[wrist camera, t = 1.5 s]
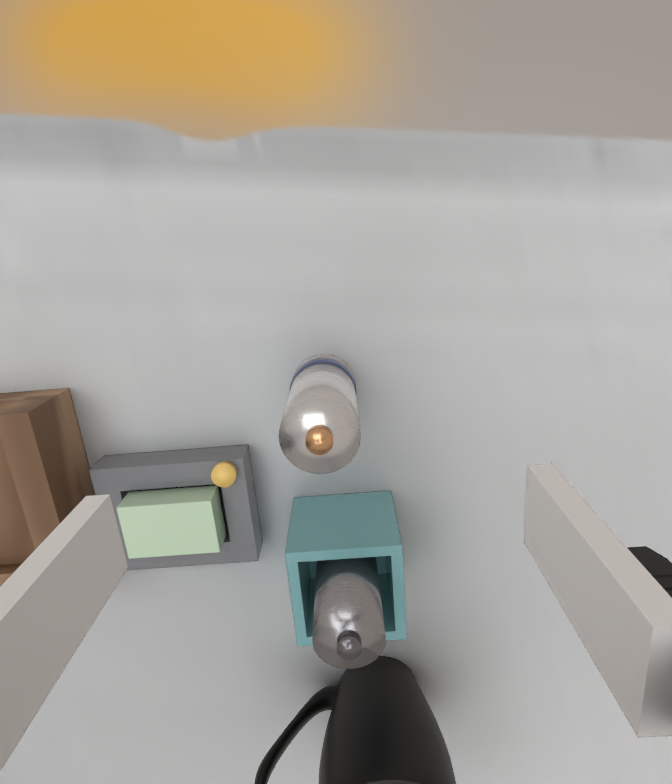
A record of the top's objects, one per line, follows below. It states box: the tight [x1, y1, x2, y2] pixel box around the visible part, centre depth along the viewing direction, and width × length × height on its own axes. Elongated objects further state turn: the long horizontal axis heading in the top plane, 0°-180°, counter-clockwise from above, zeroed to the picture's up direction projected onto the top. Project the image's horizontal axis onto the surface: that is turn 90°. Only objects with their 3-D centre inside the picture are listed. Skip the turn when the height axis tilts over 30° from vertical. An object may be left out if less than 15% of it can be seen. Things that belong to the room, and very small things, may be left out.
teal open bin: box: [285, 491, 407, 646], centre depth 30 cm, size 6×6×6 cm
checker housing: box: [89, 445, 262, 570], centre depth 31 cm, size 9×7×3 cm
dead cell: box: [312, 557, 386, 669], centre depth 28 cm, size 4×4×9 cm
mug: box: [255, 656, 456, 784], centre depth 32 cm, size 8×12×10 cm
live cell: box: [279, 354, 360, 474], centre depth 26 cm, size 4×4×9 cm
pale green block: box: [116, 485, 226, 559], centre depth 30 cm, size 5×3×2 cm, turn 95°
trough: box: [0, 388, 95, 587], centre depth 30 cm, size 9×12×4 cm
